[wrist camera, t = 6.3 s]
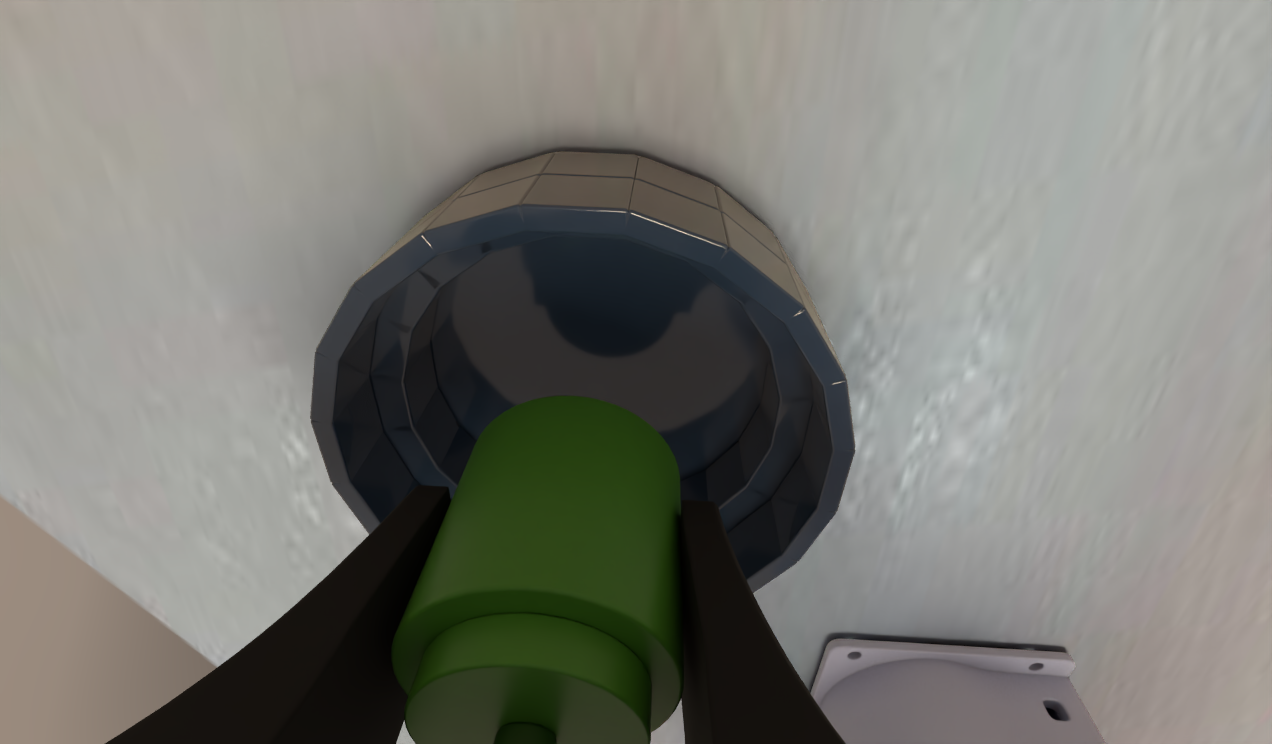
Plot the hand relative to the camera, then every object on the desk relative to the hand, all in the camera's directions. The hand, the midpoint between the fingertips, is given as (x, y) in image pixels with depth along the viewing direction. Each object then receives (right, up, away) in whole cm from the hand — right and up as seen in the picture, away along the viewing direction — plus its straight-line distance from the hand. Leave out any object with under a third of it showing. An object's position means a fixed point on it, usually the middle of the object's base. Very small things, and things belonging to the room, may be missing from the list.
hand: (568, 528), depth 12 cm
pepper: (0, +1, +1) cm, 1 cm away
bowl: (0, +3, +5) cm, 6 cm away
